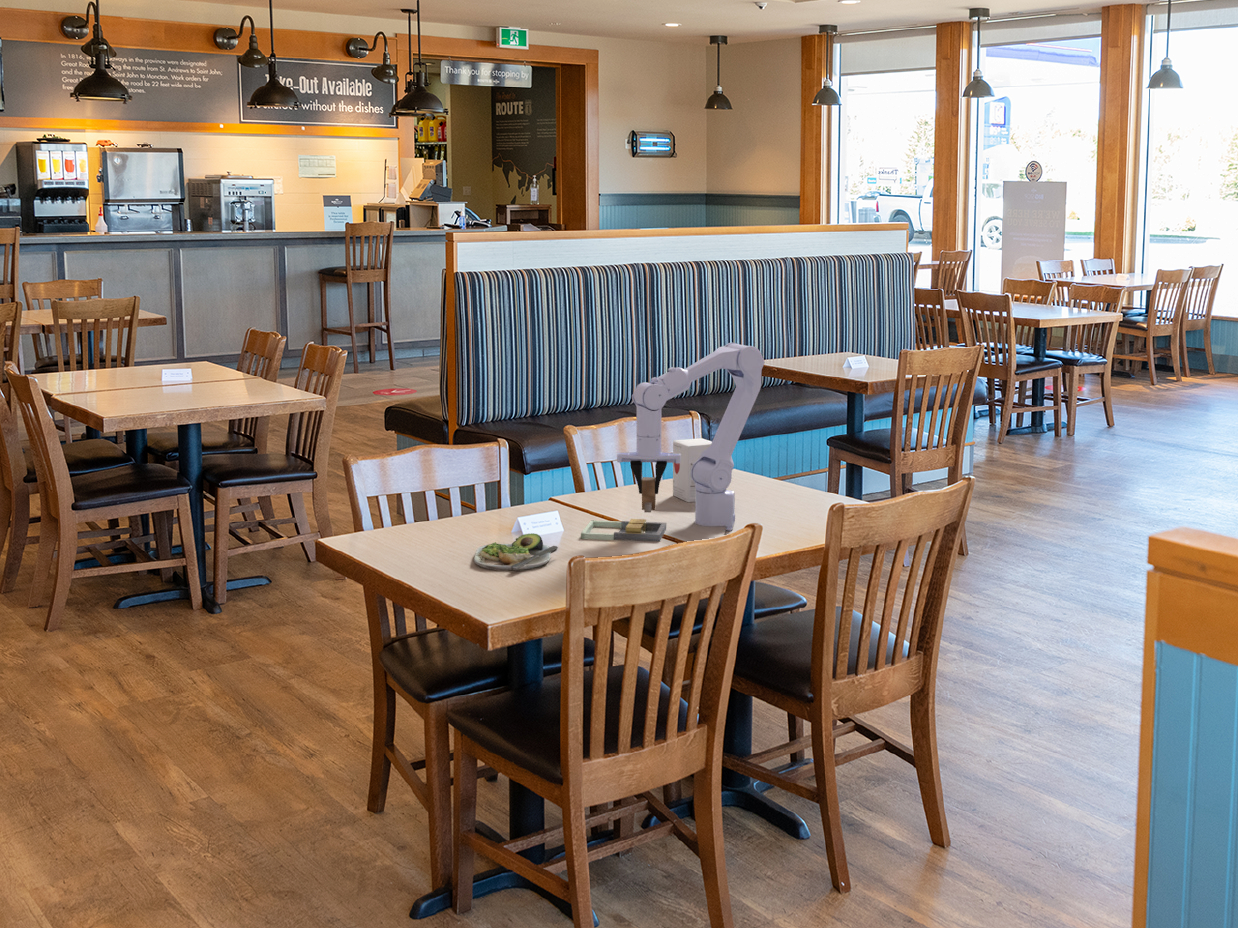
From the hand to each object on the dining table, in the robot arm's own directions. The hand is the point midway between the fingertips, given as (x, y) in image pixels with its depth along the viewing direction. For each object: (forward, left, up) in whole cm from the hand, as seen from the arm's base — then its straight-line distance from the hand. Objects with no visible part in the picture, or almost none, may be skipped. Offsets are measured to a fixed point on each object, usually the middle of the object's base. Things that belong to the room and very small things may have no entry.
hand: (648, 492), depth 284 cm
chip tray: (+10, +4, -10) cm, 15 cm away
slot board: (+1, +4, -10) cm, 11 cm away
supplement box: (-7, -38, -10) cm, 40 cm away
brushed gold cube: (+2, +2, -9) cm, 9 cm away
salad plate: (+26, +25, -10) cm, 37 cm away
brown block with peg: (0, 0, -4) cm, 4 cm away
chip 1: (+2, +6, -9) cm, 11 cm away
